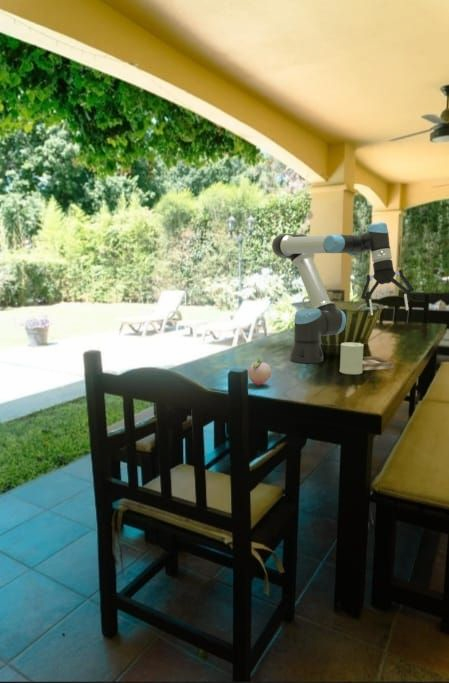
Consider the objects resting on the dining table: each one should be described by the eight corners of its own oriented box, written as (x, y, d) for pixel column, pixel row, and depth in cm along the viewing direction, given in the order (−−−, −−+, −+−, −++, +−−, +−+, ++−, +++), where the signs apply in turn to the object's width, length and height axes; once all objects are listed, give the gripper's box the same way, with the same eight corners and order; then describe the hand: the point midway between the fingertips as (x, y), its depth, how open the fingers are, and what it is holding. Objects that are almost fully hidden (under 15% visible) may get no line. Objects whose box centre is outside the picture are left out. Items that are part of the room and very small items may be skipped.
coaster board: (362, 370, 189) (363, 364, 189) (346, 363, 203) (346, 357, 202) (392, 368, 192) (393, 362, 192) (374, 361, 206) (375, 356, 205)
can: (350, 375, 181) (351, 345, 179) (334, 370, 189) (335, 342, 187) (367, 372, 185) (368, 343, 183) (351, 368, 193) (352, 340, 191)
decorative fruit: (269, 389, 161) (270, 362, 159) (247, 388, 162) (247, 361, 160) (271, 383, 170) (272, 356, 168) (250, 382, 171) (250, 356, 170)
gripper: (350, 265, 185) (357, 316, 184) (416, 253, 178) (423, 307, 177) (351, 267, 192) (357, 317, 192) (413, 256, 185) (421, 308, 184)
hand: (389, 312), depth 184 cm, fingers open, 13 cm apart
